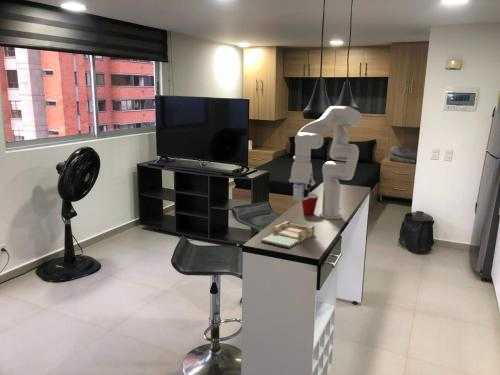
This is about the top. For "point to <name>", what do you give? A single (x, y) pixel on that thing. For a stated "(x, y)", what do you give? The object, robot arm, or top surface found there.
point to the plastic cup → (310, 204)
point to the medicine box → (299, 192)
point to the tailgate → (280, 240)
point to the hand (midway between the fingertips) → (301, 195)
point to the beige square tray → (293, 230)
